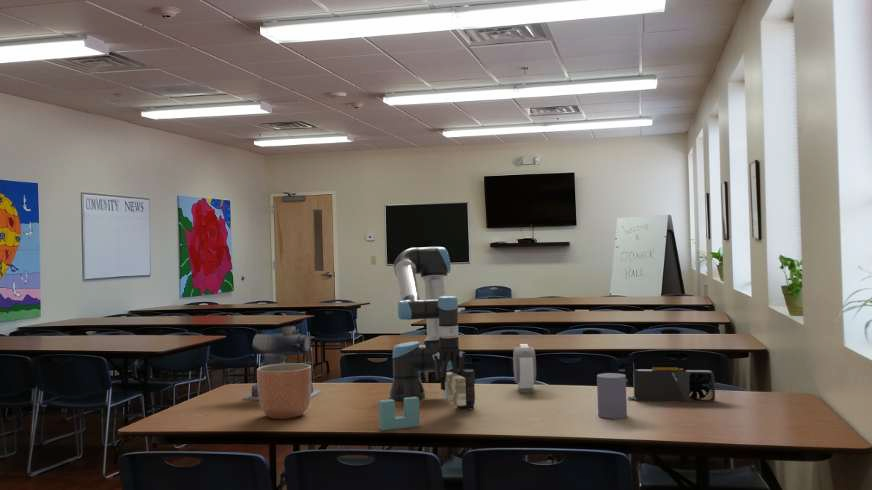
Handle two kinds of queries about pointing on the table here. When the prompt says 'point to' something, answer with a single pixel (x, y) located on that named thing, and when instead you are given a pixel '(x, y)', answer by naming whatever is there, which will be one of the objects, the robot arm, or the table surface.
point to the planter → (284, 389)
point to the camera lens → (469, 389)
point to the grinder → (279, 351)
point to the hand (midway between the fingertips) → (450, 397)
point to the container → (611, 395)
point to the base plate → (392, 422)
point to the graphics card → (672, 385)
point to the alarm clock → (524, 367)
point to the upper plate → (456, 388)
